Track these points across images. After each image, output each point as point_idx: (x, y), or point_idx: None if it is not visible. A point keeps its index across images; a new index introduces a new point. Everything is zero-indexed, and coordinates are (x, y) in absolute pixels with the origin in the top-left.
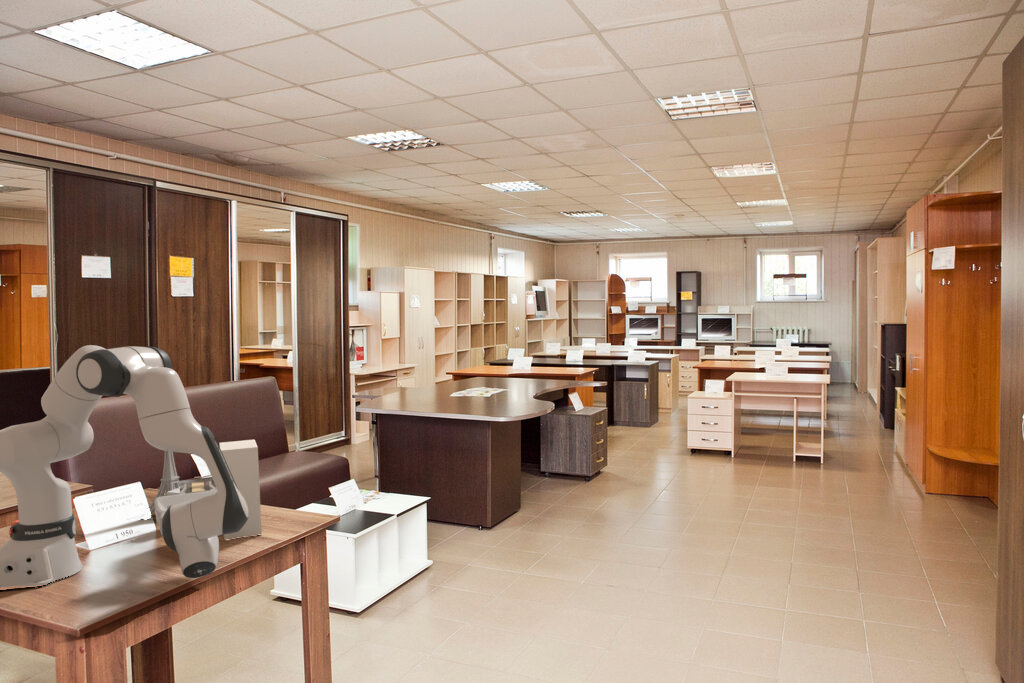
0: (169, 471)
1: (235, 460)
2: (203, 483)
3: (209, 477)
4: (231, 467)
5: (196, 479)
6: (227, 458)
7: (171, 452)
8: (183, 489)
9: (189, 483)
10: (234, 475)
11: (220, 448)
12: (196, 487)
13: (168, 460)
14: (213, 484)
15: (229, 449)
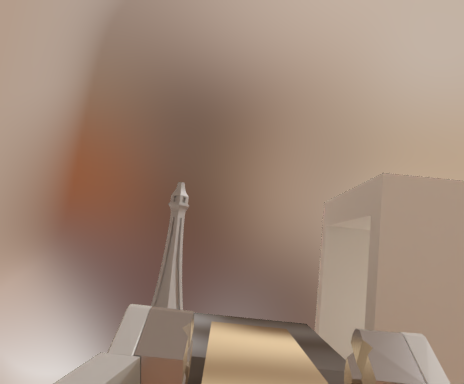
0: (166, 296)
1: (459, 245)
2: (296, 345)
3: (286, 322)
4: (433, 283)
5: (233, 319)
6: (415, 225)
7: (179, 251)
8: (87, 373)
9: (200, 329)
10: (446, 335)
11: (363, 183)
12: (250, 374)
13: (169, 268)
14: (340, 367)
15: (426, 179)
